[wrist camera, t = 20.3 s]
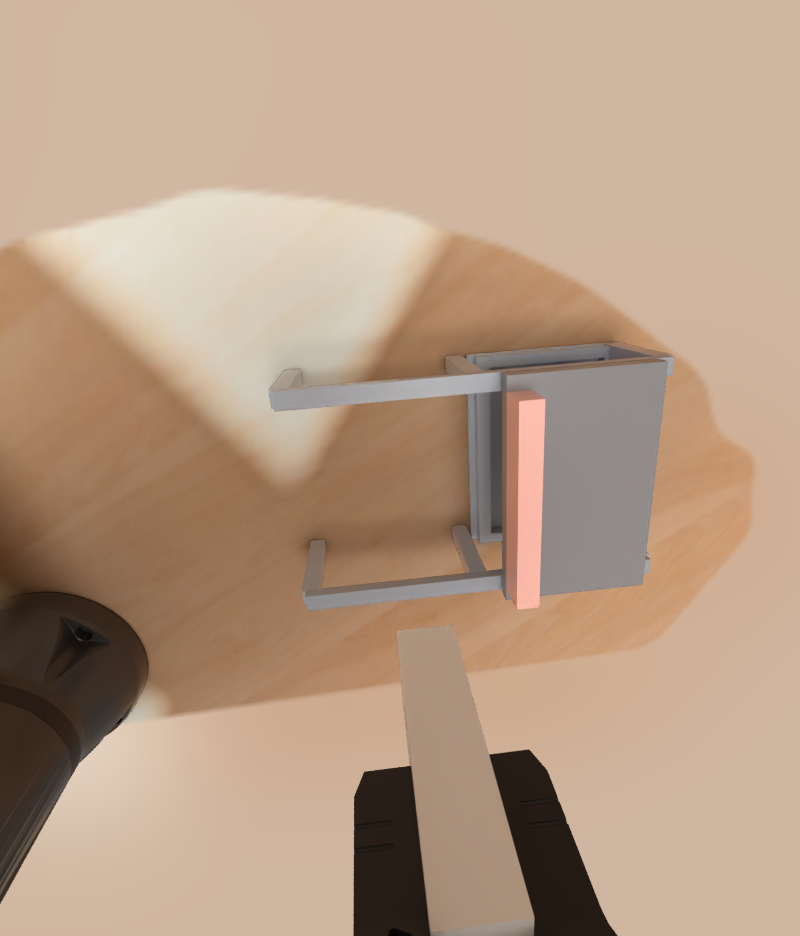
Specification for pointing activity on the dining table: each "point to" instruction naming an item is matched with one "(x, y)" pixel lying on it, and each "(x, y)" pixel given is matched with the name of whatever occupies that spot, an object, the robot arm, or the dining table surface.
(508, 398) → the lid
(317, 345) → the dining table surface
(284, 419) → the dining table surface
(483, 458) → the grey frame rack
